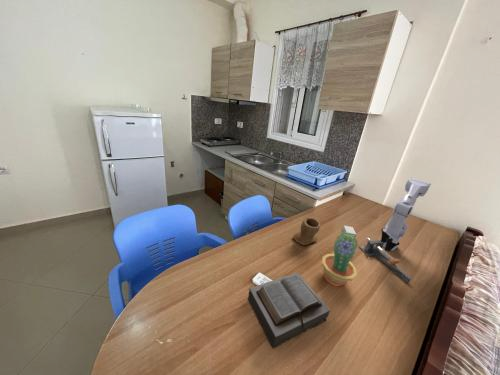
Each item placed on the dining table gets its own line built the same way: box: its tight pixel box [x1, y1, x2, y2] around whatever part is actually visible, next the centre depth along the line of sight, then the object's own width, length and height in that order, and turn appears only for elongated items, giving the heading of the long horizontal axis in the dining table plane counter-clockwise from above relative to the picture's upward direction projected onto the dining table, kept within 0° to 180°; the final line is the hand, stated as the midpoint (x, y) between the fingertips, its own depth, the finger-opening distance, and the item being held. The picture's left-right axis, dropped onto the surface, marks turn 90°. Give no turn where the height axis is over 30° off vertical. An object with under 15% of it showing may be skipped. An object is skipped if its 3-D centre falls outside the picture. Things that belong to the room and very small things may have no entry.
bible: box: [247, 272, 331, 349], centre depth 75 cm, size 23×27×10 cm
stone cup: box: [292, 216, 321, 246], centre depth 117 cm, size 15×12×15 cm
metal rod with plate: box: [365, 237, 401, 265], centre depth 113 cm, size 6×20×3 cm, turn 15°
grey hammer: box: [358, 239, 412, 284], centre depth 109 cm, size 12×26×7 cm, turn 14°
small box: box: [339, 225, 357, 238], centre depth 119 cm, size 8×6×10 cm
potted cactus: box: [321, 232, 359, 287], centre depth 90 cm, size 15×15×25 cm
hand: (384, 246), depth 107 cm, fingers open, 7 cm apart
